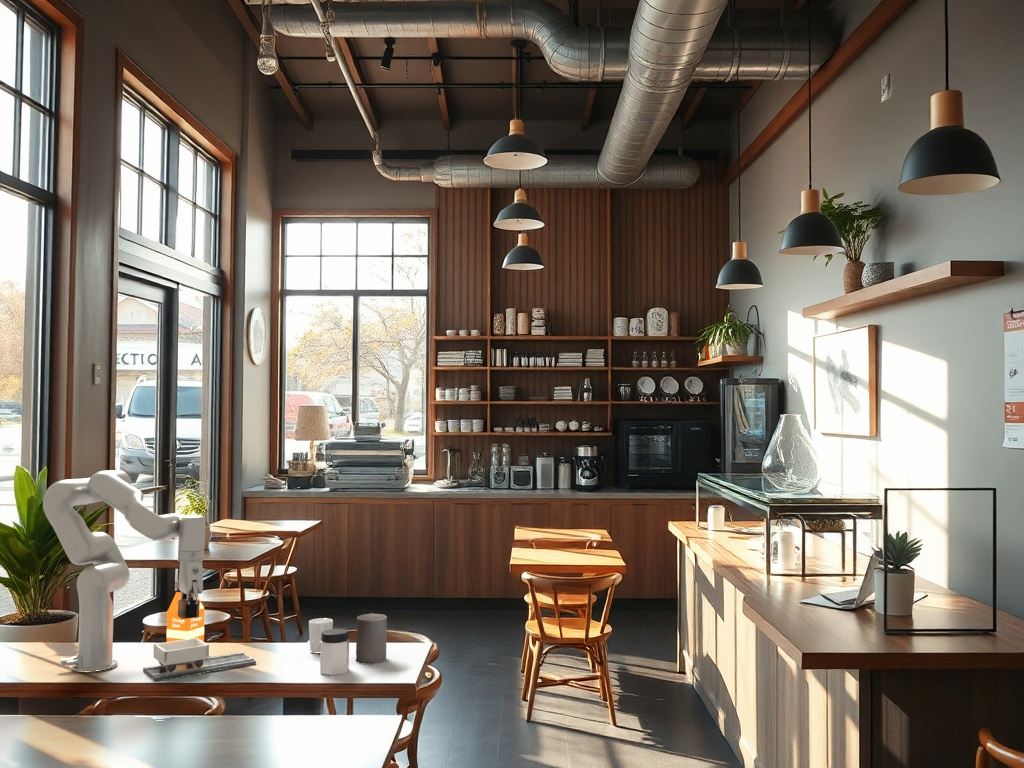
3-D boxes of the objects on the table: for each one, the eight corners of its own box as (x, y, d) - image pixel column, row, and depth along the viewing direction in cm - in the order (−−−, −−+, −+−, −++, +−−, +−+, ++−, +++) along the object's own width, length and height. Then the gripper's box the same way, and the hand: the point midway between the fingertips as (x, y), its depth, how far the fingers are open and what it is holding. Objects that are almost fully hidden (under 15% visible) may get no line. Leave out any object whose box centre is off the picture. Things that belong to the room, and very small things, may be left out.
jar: (345, 675, 247) (346, 634, 248) (318, 676, 247) (318, 635, 247) (350, 667, 256) (350, 628, 257) (324, 667, 255) (324, 628, 256)
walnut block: (182, 619, 251) (182, 602, 251) (177, 616, 255) (178, 599, 255) (199, 617, 254) (199, 600, 254) (194, 614, 258) (195, 598, 258)
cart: (163, 673, 244) (164, 651, 245) (153, 665, 254) (153, 644, 254) (208, 666, 252) (209, 645, 253) (196, 658, 262) (197, 637, 262)
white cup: (319, 655, 271) (319, 624, 271) (303, 651, 275) (303, 621, 276) (337, 650, 277) (337, 620, 278) (322, 647, 282) (322, 617, 282)
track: (154, 681, 242) (154, 676, 242) (143, 671, 253) (143, 666, 253) (255, 664, 260) (255, 659, 260) (240, 655, 271) (240, 651, 271)
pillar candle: (349, 661, 263) (350, 613, 264) (370, 654, 271) (371, 608, 272) (372, 666, 257) (372, 617, 258) (393, 659, 266) (393, 611, 266)
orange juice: (187, 658, 268) (188, 595, 269) (165, 656, 271) (167, 594, 272) (204, 652, 275) (205, 591, 276) (183, 650, 278) (184, 589, 280)
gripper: (211, 558, 251) (209, 619, 250) (195, 551, 264) (192, 609, 263) (186, 560, 246) (183, 622, 245) (170, 553, 260) (167, 612, 259)
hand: (188, 615), depth 254 cm, fingers closed on walnut block, 5 cm apart
